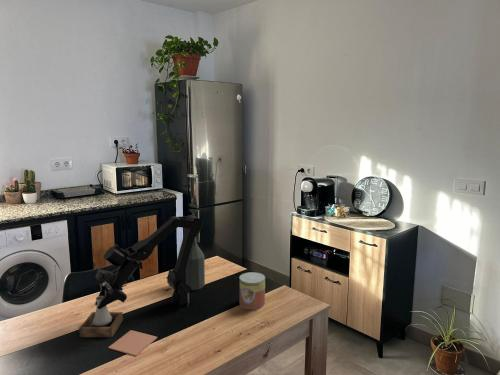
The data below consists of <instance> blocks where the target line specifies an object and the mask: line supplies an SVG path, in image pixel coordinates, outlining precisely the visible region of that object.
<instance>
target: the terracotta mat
mask: <svg viewBox="0 0 500 375" xmlns="http://www.w3.org/2000/svg"><path fill="white" fill-rule="evenodd" d="M157 339H158V336H155V335H151V334H148V333H143V332H139V331H136V330H132V329H131V330H129V331H128V332H126V333H125V334H124V335H122V336H121V337H120V338H119V339H117V340H116V341H115V342H113V343H112V344H111V345H109V346H108V347H107V348H108V349H109V350H112V351H117V352H120V353H124V354H127V355H131V356H134V357H137V356H138V355H140V354H141V353H142V352H143V351H144V350H145V349H146V348H147V347H149V346H150V345H151V344H152V343H153V342H154V341H156V340H157Z"/></svg>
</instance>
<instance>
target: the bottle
mask: <svg viewBox="0 0 500 375" xmlns="http://www.w3.org/2000/svg"><path fill="white" fill-rule="evenodd" d="M205 270H206V269H205V254H204V253H203V250H201V248H200V247H199V245H198V240H197V236H196V237H195V239H194V242H193V246H192V250H191V253H190V257H189V260H188V264H187V267H186V276H187V280H186V284H187V285H188V286H190V287H191V291H198V290H201V289H203V288H204V286H205V284H206V276H205V275H206V274H205Z"/></svg>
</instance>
